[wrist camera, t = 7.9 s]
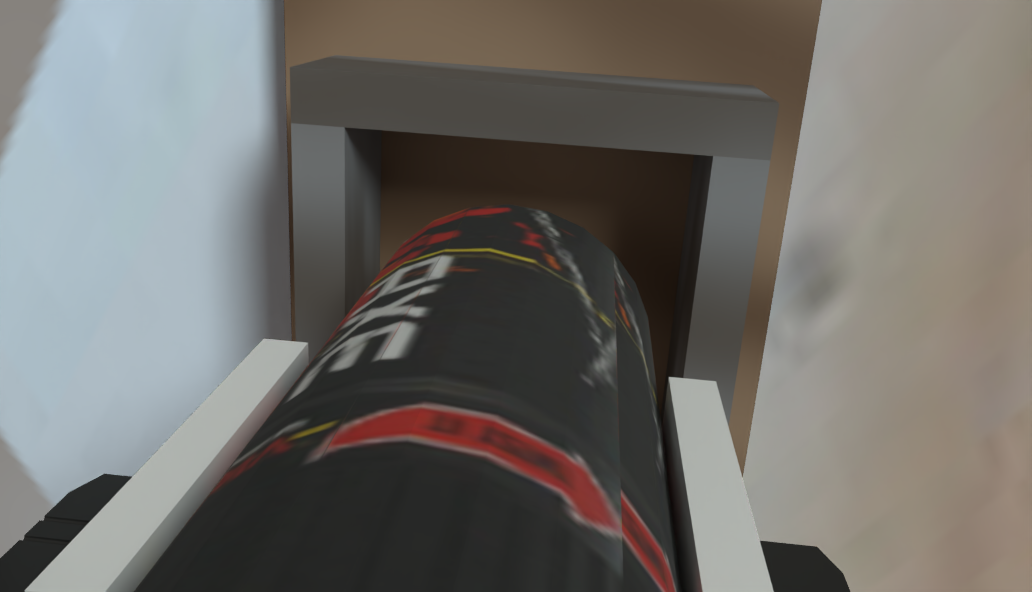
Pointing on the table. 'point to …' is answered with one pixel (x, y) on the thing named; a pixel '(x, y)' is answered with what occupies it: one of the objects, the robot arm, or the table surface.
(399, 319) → the deodorant
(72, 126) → the table surface
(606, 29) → the socket stand
